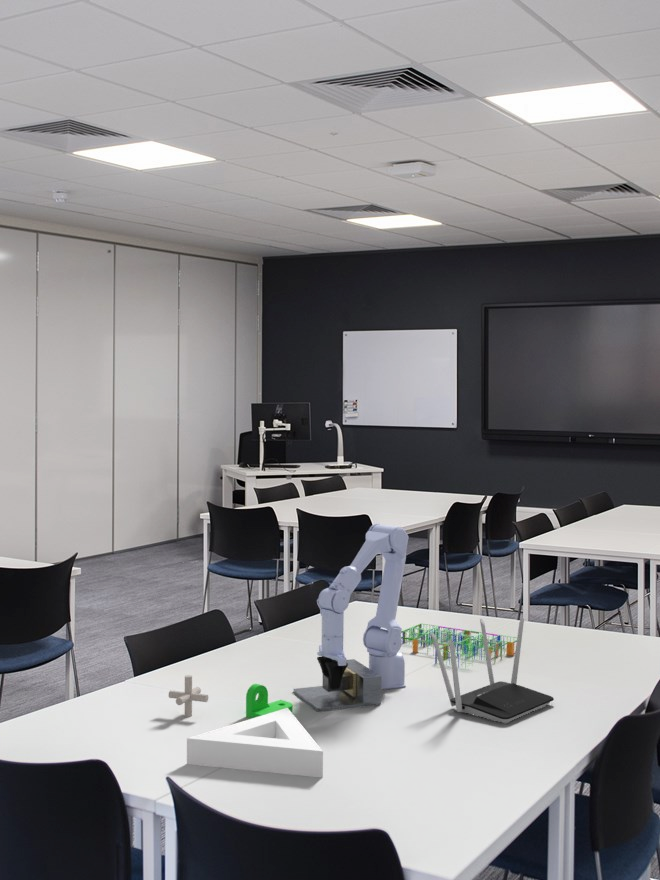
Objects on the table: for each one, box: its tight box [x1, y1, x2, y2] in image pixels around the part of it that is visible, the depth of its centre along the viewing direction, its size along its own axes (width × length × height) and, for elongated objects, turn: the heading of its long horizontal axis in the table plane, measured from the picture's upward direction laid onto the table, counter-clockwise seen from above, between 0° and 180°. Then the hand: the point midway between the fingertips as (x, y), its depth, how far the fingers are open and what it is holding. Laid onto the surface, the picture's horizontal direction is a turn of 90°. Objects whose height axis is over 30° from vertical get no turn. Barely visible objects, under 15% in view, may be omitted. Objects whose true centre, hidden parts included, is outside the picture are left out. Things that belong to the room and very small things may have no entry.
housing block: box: [293, 658, 382, 713], centre depth 262 cm, size 18×18×8 cm
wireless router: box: [430, 617, 555, 724], centre depth 256 cm, size 34×23×20 cm
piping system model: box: [401, 623, 517, 669], centre depth 310 cm, size 35×30×5 cm
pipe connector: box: [168, 674, 209, 718], centre depth 246 cm, size 10×10×10 cm
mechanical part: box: [245, 683, 294, 719], centre depth 248 cm, size 12×6×8 cm, turn 137°
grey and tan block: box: [322, 668, 356, 697], centre depth 262 cm, size 11×9×6 cm
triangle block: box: [186, 708, 324, 778], centre depth 217 cm, size 30×26×6 cm
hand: (332, 686), depth 261 cm, fingers closed on grey and tan block, 4 cm apart
